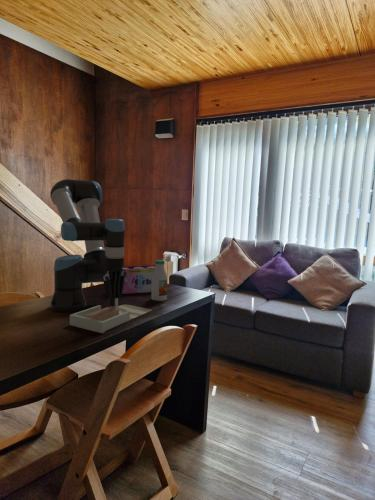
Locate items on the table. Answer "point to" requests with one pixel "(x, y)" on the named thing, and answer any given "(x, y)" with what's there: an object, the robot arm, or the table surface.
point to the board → (133, 310)
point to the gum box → (138, 279)
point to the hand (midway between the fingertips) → (114, 313)
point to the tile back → (110, 311)
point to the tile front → (98, 315)
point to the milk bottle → (159, 282)
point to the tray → (96, 325)
